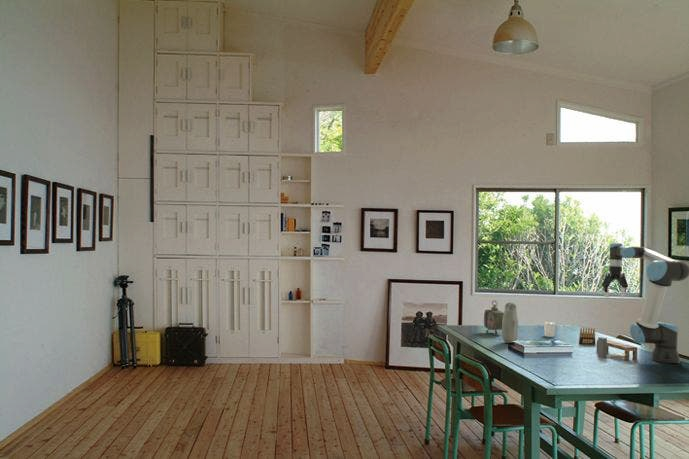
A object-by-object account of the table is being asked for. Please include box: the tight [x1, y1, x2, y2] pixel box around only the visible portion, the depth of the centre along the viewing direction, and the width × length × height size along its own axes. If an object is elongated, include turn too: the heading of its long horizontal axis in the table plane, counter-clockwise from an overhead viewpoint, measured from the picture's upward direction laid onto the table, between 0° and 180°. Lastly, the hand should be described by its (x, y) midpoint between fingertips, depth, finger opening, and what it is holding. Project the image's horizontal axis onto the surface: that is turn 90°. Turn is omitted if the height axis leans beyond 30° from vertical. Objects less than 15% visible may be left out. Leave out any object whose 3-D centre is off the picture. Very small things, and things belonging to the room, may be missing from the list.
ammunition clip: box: [578, 326, 596, 346], centre depth 360 cm, size 11×2×12 cm, turn 87°
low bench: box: [595, 339, 638, 362], centre depth 325 cm, size 24×8×8 cm, turn 18°
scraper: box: [597, 336, 625, 359], centre depth 324 cm, size 18×6×12 cm, turn 108°
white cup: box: [543, 321, 557, 338], centre depth 387 cm, size 8×8×10 cm
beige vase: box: [501, 302, 519, 344], centre depth 355 cm, size 10×10×28 cm
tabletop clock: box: [483, 300, 504, 336], centre depth 390 cm, size 14×9×25 cm, turn 17°
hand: (614, 297), depth 349 cm, fingers open, 13 cm apart
